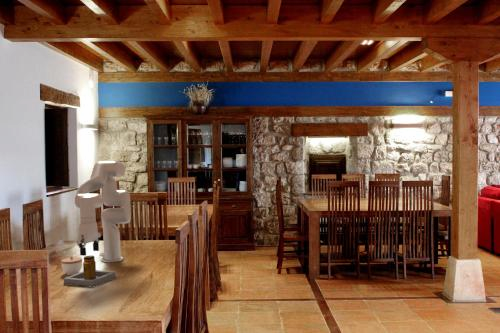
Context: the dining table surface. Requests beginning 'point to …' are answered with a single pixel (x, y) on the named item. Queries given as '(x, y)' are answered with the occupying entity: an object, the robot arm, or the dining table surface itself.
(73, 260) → the lidded jar
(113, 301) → the dining table surface
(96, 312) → the dining table surface
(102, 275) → the tray
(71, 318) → the dining table surface
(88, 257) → the condiment
